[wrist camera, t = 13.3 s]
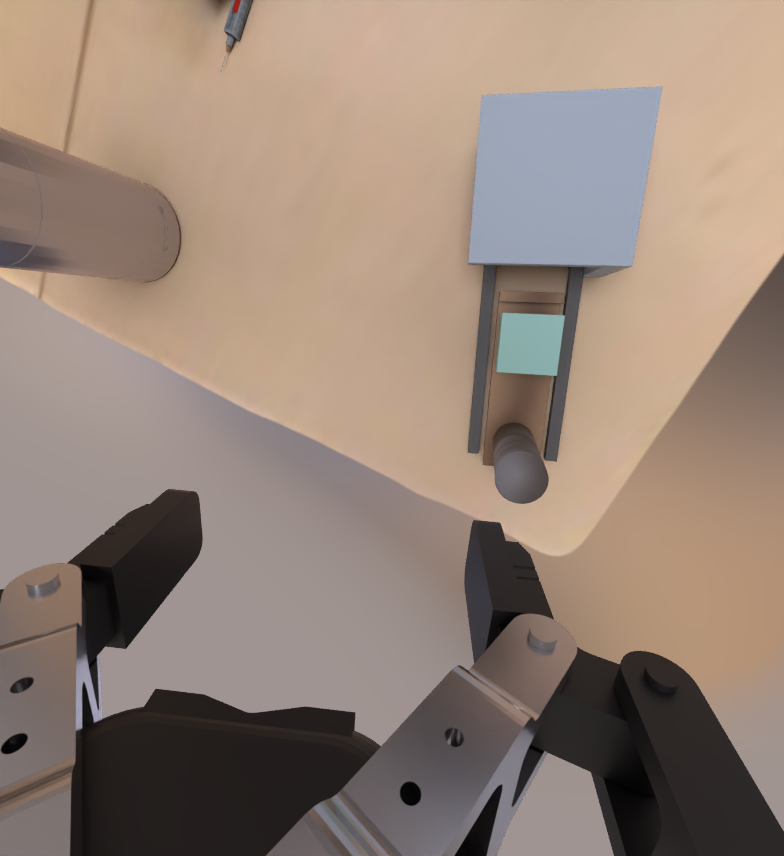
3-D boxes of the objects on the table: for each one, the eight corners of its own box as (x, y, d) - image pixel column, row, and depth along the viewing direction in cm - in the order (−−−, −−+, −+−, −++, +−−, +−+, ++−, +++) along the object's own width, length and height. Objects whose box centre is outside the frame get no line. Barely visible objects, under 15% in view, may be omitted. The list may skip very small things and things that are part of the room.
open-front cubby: (472, 274, 39) (468, 262, 31) (482, 145, 36) (481, 95, 28) (599, 277, 37) (632, 266, 29) (620, 141, 34) (662, 86, 26)
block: (495, 365, 39) (496, 371, 35) (500, 313, 38) (502, 312, 34) (548, 369, 38) (556, 375, 34) (555, 315, 37) (564, 315, 33)
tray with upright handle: (482, 461, 42) (481, 508, 32) (499, 292, 39) (504, 283, 28) (537, 466, 41) (554, 516, 31) (559, 294, 38) (587, 285, 27)
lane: (468, 449, 43) (467, 452, 42) (492, 172, 36) (492, 168, 36) (555, 458, 41) (556, 461, 40) (595, 170, 35) (598, 166, 34)
